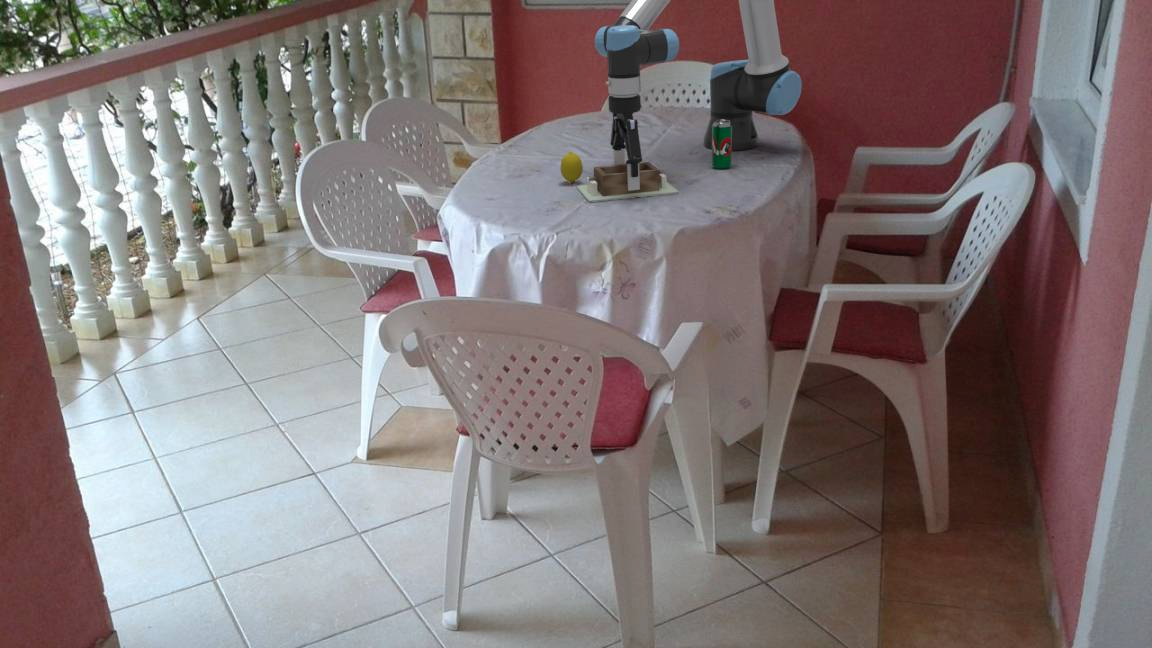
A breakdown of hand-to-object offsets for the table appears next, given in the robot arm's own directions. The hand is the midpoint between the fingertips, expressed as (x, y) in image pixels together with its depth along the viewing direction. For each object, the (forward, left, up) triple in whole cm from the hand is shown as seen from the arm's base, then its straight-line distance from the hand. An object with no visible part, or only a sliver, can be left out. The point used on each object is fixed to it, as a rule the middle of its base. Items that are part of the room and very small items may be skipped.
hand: (626, 182), depth 250 cm
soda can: (-29, -13, -2) cm, 32 cm away
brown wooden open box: (0, 0, -1) cm, 1 cm away
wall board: (0, 0, -2) cm, 2 cm away
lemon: (+11, -12, -2) cm, 16 cm away
